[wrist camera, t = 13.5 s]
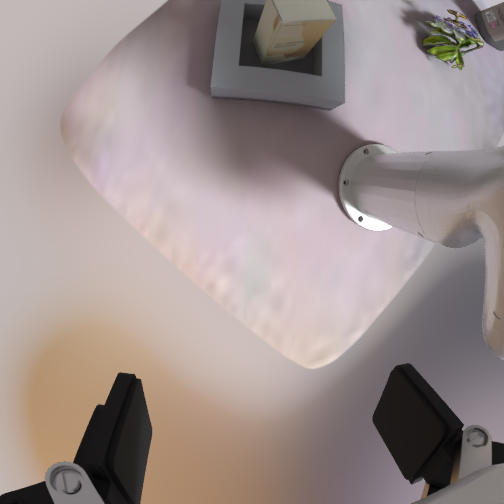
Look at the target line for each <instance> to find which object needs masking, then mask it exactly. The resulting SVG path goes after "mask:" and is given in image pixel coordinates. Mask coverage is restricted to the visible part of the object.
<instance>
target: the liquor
mask: <svg viewBox="0 0 504 504" xmlns="http://www.w3.org/2000/svg"><path fill="white" fill-rule="evenodd" d="M475 20H476V22H477V25H478V28H479V31H480V34H481V35H482V37H483V38H484V40H485V41H486V42H487V43H488V44H489V45H491V46H493V47H494V48H496V49H497V50H500V51H503V50H504V2H503V3H501V4H498V5H495V6H493V7H490V8H488V9H485V10H483V11H480V12H478V14H477V15H476V17H475Z"/></svg>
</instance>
